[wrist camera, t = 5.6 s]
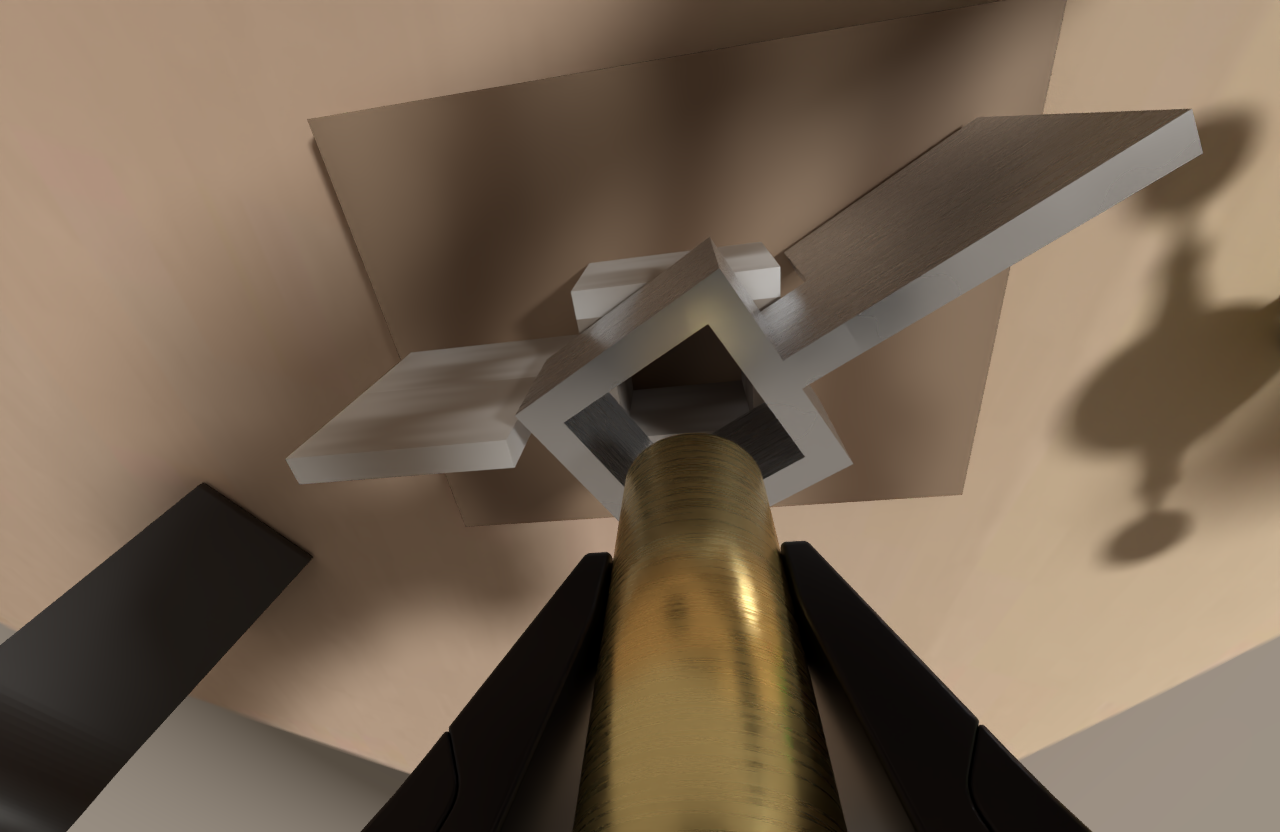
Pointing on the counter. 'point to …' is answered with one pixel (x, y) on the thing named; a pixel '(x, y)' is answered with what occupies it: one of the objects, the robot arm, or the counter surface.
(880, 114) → the hinge board
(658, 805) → the hinge pin
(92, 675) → the phone stand
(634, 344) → the hinge leaf
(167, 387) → the counter surface
